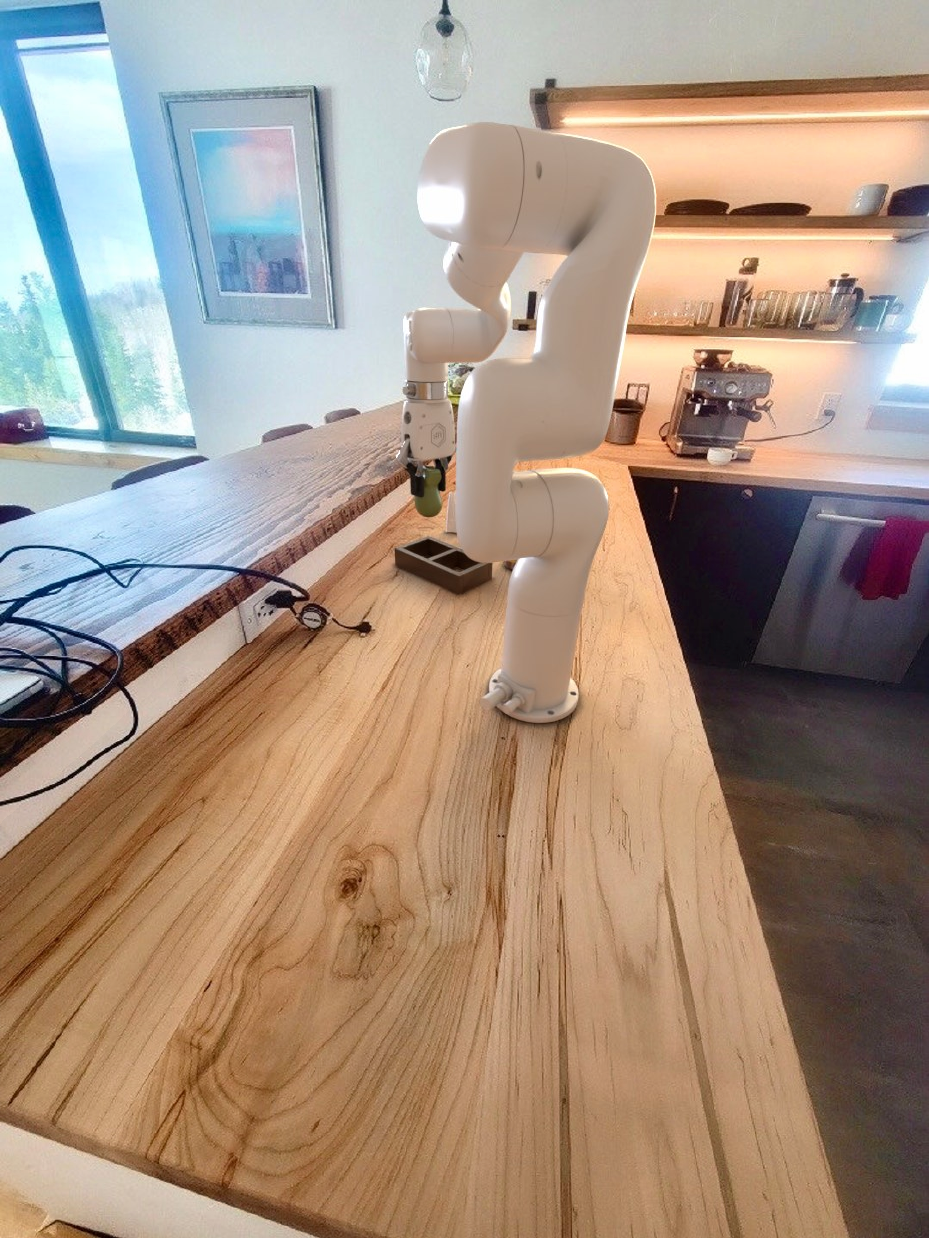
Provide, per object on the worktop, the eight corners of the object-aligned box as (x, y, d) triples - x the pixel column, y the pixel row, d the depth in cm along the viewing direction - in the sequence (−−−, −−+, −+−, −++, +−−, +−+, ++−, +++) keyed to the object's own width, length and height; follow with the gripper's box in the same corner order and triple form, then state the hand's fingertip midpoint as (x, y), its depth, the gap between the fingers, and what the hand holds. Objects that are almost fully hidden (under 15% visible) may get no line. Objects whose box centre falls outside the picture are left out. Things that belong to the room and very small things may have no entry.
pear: (428, 510, 104) (428, 461, 99) (447, 516, 101) (448, 466, 97) (409, 516, 101) (408, 466, 96) (429, 522, 98) (428, 470, 93)
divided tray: (458, 595, 96) (459, 576, 94) (395, 565, 107) (394, 547, 105) (491, 579, 103) (492, 561, 101) (428, 552, 113) (428, 535, 111)
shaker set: (495, 532, 125) (498, 488, 119) (492, 538, 122) (495, 493, 116) (449, 526, 127) (450, 483, 122) (444, 532, 124) (445, 488, 118)
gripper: (404, 397, 82) (408, 506, 91) (474, 391, 93) (471, 488, 102) (375, 393, 86) (382, 497, 95) (445, 387, 97) (445, 481, 106)
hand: (428, 492), depth 98 cm, fingers closed on pear, 5 cm apart
